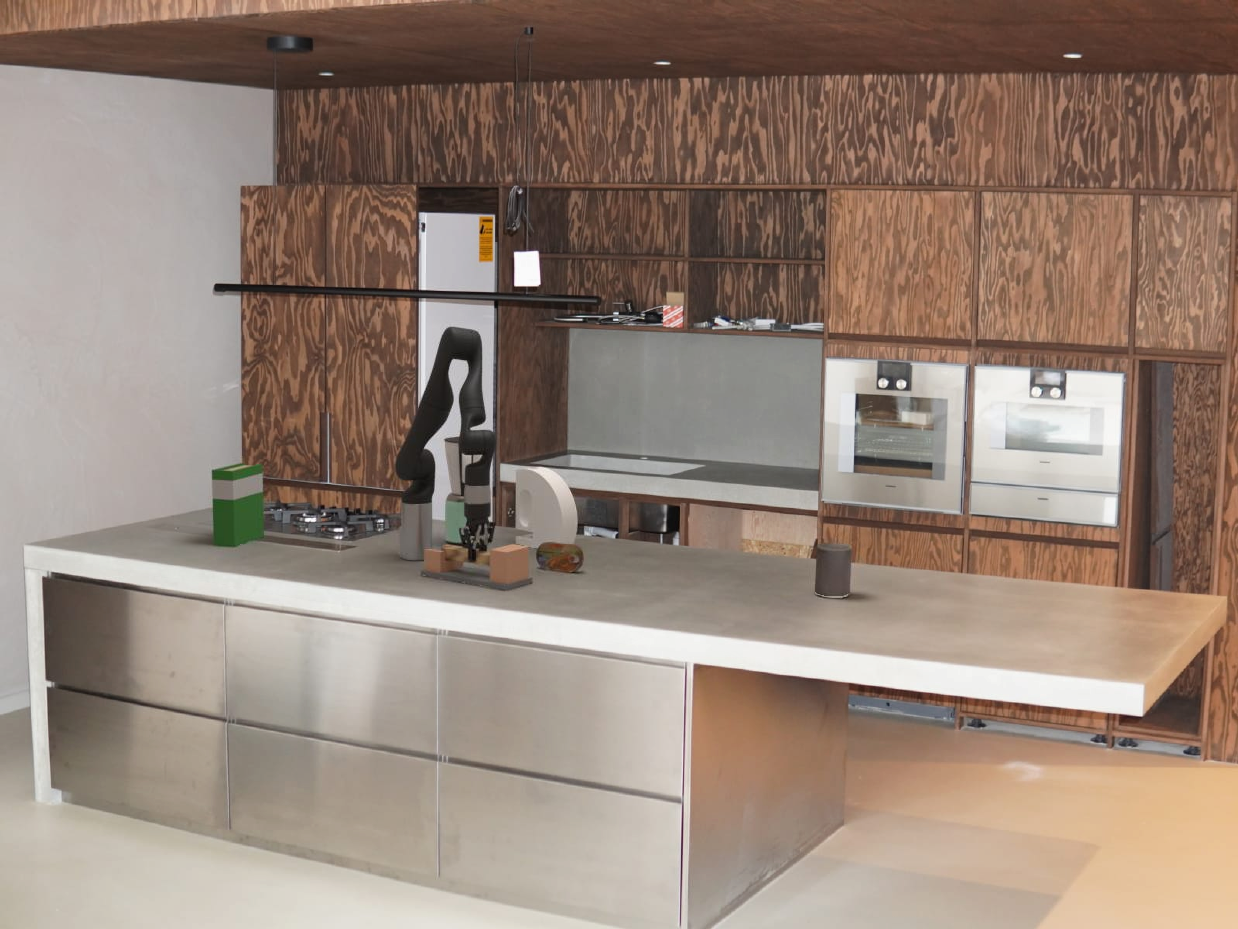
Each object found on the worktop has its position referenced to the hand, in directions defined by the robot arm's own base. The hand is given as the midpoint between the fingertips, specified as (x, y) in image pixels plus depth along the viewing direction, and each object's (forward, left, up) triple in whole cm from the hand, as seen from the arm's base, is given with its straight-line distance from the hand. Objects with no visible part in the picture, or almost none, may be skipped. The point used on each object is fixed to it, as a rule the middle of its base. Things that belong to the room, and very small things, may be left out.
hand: (477, 559), depth 399 cm
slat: (0, 0, -1) cm, 1 cm away
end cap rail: (0, 0, -6) cm, 6 cm away
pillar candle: (+90, +44, -6) cm, 100 cm away
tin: (+12, +24, -6) cm, 27 cm away
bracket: (-11, +48, -6) cm, 50 cm away
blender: (-33, +35, -6) cm, 49 cm away
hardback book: (-95, -3, -6) cm, 96 cm away
